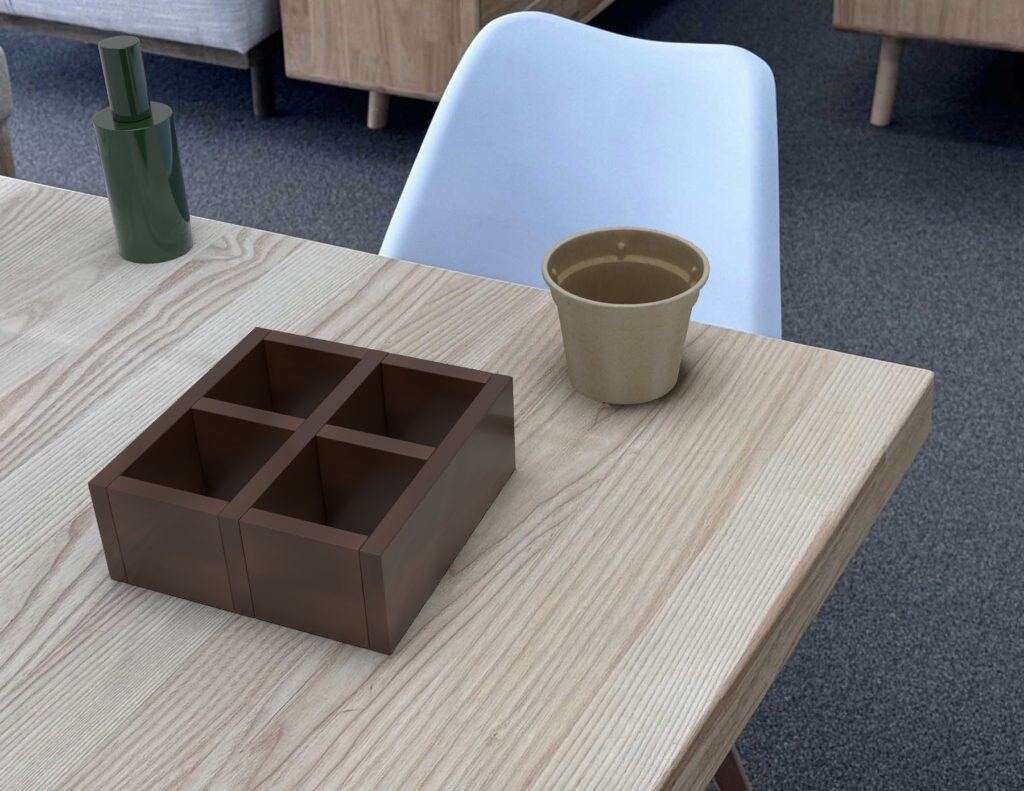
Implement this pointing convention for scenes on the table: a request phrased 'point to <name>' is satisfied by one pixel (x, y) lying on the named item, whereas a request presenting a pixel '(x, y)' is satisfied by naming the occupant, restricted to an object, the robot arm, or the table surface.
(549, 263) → the flower pot
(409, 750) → the table surface
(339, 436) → the box
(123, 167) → the bottle
